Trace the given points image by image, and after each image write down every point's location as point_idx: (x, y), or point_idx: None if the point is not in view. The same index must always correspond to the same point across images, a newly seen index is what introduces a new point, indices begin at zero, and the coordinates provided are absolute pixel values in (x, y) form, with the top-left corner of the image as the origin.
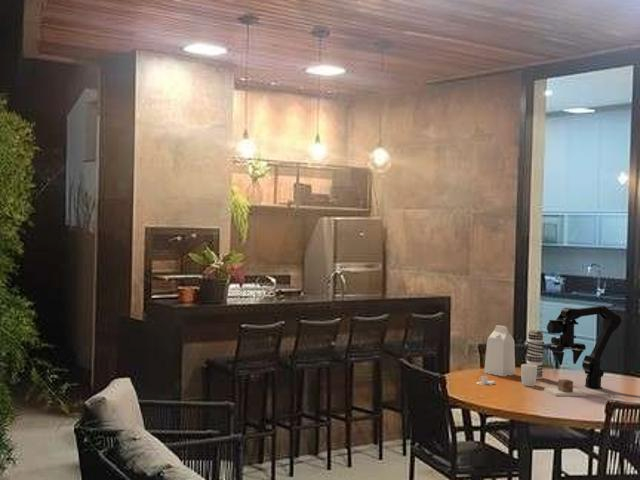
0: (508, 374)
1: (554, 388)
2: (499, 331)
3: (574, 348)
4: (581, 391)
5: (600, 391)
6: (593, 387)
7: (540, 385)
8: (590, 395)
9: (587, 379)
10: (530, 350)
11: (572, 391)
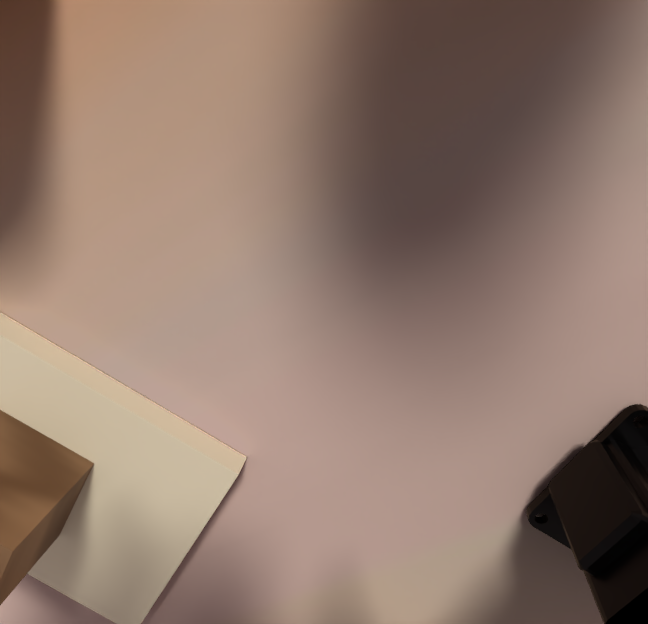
0: None
1: (2, 347)
2: None
3: None
4: (159, 575)
5: (468, 616)
6: (561, 536)
7: (112, 10)
8: (196, 621)
9: (587, 538)
10: None
11: (55, 536)
